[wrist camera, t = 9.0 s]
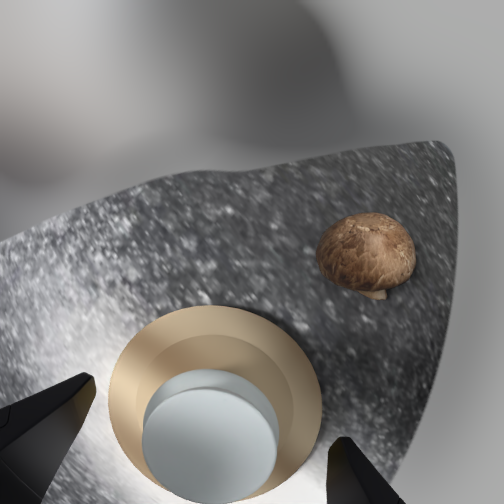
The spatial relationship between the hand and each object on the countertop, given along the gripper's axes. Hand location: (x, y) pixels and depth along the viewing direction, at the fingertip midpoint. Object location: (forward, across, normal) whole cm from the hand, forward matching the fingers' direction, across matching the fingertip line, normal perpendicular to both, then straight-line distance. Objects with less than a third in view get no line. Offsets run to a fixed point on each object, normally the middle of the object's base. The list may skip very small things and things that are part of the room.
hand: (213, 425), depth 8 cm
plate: (+6, 0, +7) cm, 9 cm away
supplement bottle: (+5, 0, +6) cm, 8 cm away
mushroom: (+16, -8, -2) cm, 18 cm away
